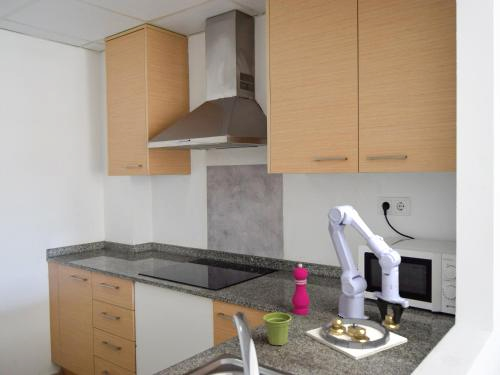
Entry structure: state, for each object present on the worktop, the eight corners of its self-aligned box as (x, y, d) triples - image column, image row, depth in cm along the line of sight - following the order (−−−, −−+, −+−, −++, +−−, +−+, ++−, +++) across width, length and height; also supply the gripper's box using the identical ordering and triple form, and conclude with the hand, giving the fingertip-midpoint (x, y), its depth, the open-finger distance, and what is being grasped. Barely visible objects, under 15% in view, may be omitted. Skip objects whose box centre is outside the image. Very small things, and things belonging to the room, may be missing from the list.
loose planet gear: (378, 326, 154) (378, 314, 153) (389, 322, 157) (389, 311, 157) (391, 331, 148) (391, 319, 148) (402, 327, 152) (402, 315, 151)
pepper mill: (290, 314, 168) (289, 265, 167) (294, 308, 175) (293, 261, 174) (307, 316, 166) (307, 266, 165) (311, 310, 172) (310, 262, 171)
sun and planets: (325, 331, 147) (324, 318, 147) (343, 326, 152) (342, 313, 151) (360, 348, 133) (360, 334, 133) (379, 341, 137) (379, 328, 137)
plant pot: (271, 350, 135) (271, 324, 134) (259, 339, 143) (259, 315, 143) (296, 345, 138) (296, 319, 138) (283, 335, 147) (283, 310, 147)
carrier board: (305, 334, 147) (305, 331, 147) (354, 320, 160) (354, 317, 160) (355, 360, 127) (355, 356, 127) (407, 341, 139) (407, 338, 139)
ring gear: (308, 331, 147) (308, 326, 147) (354, 318, 159) (354, 313, 158) (355, 355, 128) (355, 348, 128) (403, 338, 139) (403, 332, 139)
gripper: (414, 287, 148) (414, 325, 148) (381, 278, 160) (382, 313, 161) (401, 290, 144) (401, 329, 145) (369, 281, 157) (369, 317, 157)
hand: (390, 321), depth 153 cm, fingers open, 5 cm apart
